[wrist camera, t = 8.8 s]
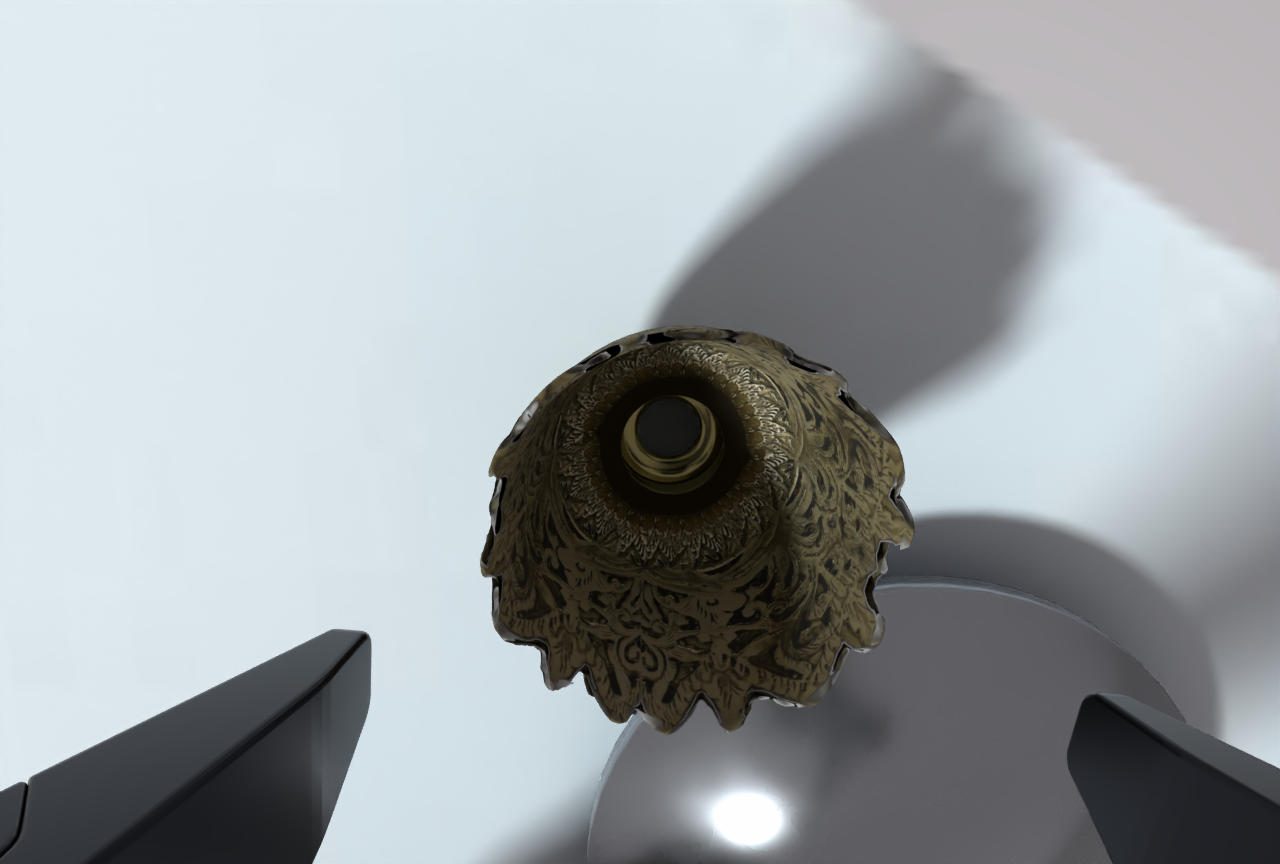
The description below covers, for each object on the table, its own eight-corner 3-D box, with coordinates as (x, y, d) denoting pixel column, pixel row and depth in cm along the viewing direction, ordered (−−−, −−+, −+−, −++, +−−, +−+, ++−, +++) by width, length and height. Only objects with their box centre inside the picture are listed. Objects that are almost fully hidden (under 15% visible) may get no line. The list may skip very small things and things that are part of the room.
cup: (562, 257, 19) (523, 281, 11) (838, 323, 20) (977, 388, 12) (508, 524, 21) (443, 698, 13) (761, 577, 22) (839, 773, 14)
